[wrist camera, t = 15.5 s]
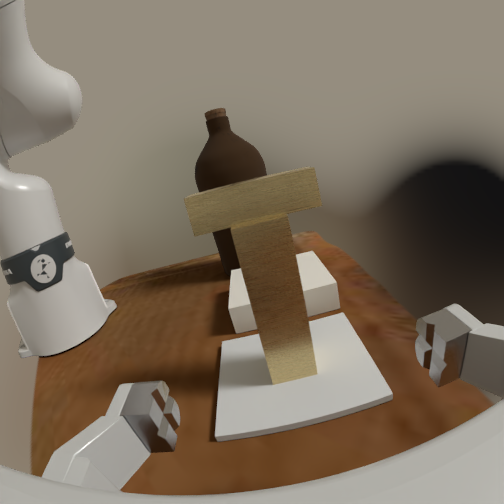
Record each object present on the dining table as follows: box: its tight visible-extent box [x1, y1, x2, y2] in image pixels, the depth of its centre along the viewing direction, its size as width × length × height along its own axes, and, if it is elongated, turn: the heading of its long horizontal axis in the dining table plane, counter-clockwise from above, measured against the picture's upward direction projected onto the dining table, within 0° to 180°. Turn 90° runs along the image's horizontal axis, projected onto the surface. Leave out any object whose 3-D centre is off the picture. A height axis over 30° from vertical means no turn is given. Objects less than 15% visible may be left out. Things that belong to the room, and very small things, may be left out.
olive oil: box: [195, 108, 267, 276], centre depth 46 cm, size 11×11×25 cm
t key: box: [184, 167, 322, 385], centre depth 21 cm, size 8×3×14 cm, turn 92°
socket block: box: [228, 251, 340, 334], centre depth 35 cm, size 11×11×3 cm
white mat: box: [215, 313, 393, 442], centre depth 23 cm, size 12×12×1 cm
